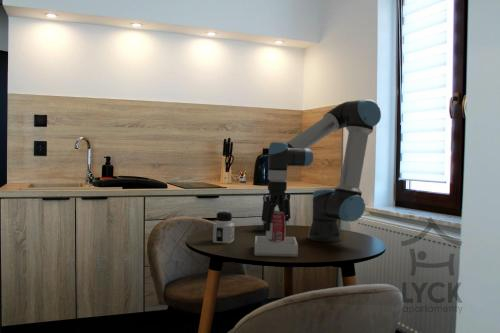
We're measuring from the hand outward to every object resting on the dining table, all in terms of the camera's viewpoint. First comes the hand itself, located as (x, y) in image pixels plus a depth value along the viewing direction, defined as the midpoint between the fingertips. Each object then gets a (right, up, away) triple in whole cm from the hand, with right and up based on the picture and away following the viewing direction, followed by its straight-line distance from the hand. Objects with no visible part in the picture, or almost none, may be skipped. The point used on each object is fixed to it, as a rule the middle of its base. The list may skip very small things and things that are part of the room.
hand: (275, 237), depth 183 cm
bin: (0, -6, 0) cm, 6 cm away
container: (-22, -5, +18) cm, 29 cm away
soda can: (0, -2, 0) cm, 2 cm away
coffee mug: (0, -4, +49) cm, 49 cm away
